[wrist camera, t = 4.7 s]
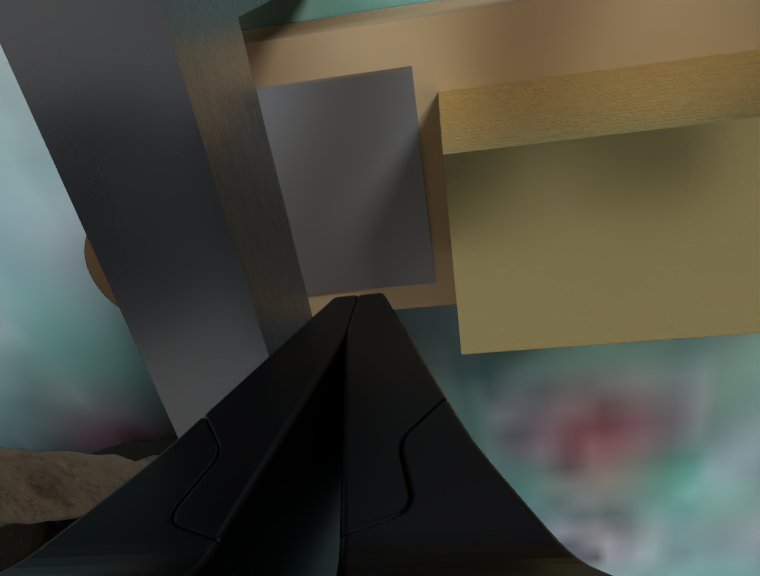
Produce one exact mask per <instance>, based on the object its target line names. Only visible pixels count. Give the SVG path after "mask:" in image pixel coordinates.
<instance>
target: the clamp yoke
mask: <svg viewBox="0 0 760 576" xmlns="http://www.w3.org/2000/svg"><path fill="white" fill-rule="evenodd" d="M269 1H271V0H0V44H1V46H2V48H3V51H4V53H5V55H6V57H7V59H8V62H9V64H10V66H11V68H12V71H13V73H14V75H15V77H16V79H17V82H18V84H19V86H20V88H21V91H22V93H23V95H24V97H25V99H26V102H27V104H28V106H29V108H30V110H31V113H32V115H33V117H34V119H35V122H36V124H37V126H38V128H39V130H40V133H41V135H42V137H43V139H44V142H45V144H46V146H47V148H48V150H49V153H50V155H51V157H52V159H53V161H54V164H55V166H56V168H57V170H58V173H59V175H60V177H61V179H62V181H63V184H64V186H65V188H66V190H67V192H68V195H69V197H70V199H71V201H72V204H73V206H74V208H75V210H76V212H77V215H78V217H79V219H80V221H81V224H82V226H83V228H84V230H85V232H86V235H87V237H88V239H89V241H90V243H91V246H92V248H93V250H94V252H95V255H96V257H97V259H98V261H99V263H100V266H101V268H102V270H103V272H104V274H105V277H106V279H107V281H108V283H109V286H110V288H111V290H112V292H113V294H114V297H115V299H116V301H117V303H118V306H119V308H120V310H121V312H122V314H123V317H124V319H125V321H126V323H127V325H128V328H129V330H130V332H131V334H132V337H133V339H134V341H135V343H136V345H137V348H138V350H139V352H140V354H141V356H142V359H143V361H144V363H145V365H146V368H147V370H148V372H149V374H150V376H151V379H152V381H153V383H154V385H155V388H156V390H157V392H158V394H159V396H160V399H161V401H162V403H163V405H164V407H165V410H166V412H167V414H168V416H169V419H170V421H171V423H172V425H173V427H174V430H175V432H176V434H177V436H178V438H180V437H181V436H182V435H183V434H184V433H185V432H186V431H188V430H189V429H190V428H191V427H192V426H193V425H194V424H195V423H196V422H197V421H199V420H200V419H201V418H205V415H206V413H208V412H209V411H210V410H211V409H212V408H213V407H214V406H215V405H216V404H218V403H219V402H220V401H221V400H222V399H223V398H224V397H225V396H226V395H227V394H229V393H230V392H231V391H232V390H233V389H234V388H235V387H236V386H237V385H238V384H240V383H241V382H242V381H243V380H244V379H245V378H246V377H247V376H248V375H249V374H251V373H252V372H253V371H254V370H255V369H256V368H257V367H258V366H259V365H261V364H262V363H263V362H264V361H265V360H266V359H267V358H268V357H269V356H270V355H272V354H273V353H274V352H275V351H276V350H277V349H278V348H279V347H280V346H281V345H283V344H284V343H285V342H286V341H287V340H288V339H289V338H290V337H291V336H292V335H294V334H295V333H296V332H297V331H298V330H299V329H300V328H301V327H302V326H303V325H305V324H306V323H307V322H308V321H309V320H310V319H311V318H312V312H311V308H310V304H309V300H308V296H307V292H306V288H305V284H304V280H303V276H302V272H301V268H300V264H299V260H298V256H297V252H296V248H295V244H294V240H293V236H292V232H291V228H290V224H289V220H288V216H287V212H286V208H285V204H284V200H283V196H282V192H281V188H280V184H279V180H278V176H277V172H276V168H275V164H274V160H273V156H272V152H271V148H270V144H269V140H268V136H267V132H266V128H265V124H264V120H263V116H262V112H261V107H260V103H259V99H258V95H257V91H256V87H255V83H254V79H253V75H252V71H251V67H250V63H249V59H248V55H247V51H246V47H245V43H244V39H243V35H242V31H241V27H240V23H239V19H238V17H240V16H242V15H244V14H246V13H248V12H250V11H252V10H254V9H256V8H257V7H259V6H261V5H263V4H265V3H267V2H269Z"/></svg>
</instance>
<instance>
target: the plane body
mask: <svg viewBox="0 0 760 576" xmlns="http://www.w3.org/2000/svg"><path fill="white" fill-rule="evenodd" d="M241 31H242V35H243V39H244V43H245V47H246V51H247V55H248V59H249V63H250V67H251V71H252V75H253V79H254V83H255V87H256V91H257V95H258V99H259V103H260V107H261V112H262V116H263V120H264V124H265V128H266V132H267V136H268V140H269V144H270V148H271V152H272V156H273V160H274V164H275V168H276V172H277V176H278V180H279V184H280V188H281V192H282V196H283V200H284V204H285V208H286V212H287V216H288V220H289V224H290V228H291V232H292V236H293V240H294V244H295V248H296V252H297V256H298V260H299V264H300V268H301V272H302V276H303V280H304V284H305V288H306V292H307V296H308V300H309V304H310V308H311V312H312V317H313V316H314V315H316V314H317V313H318V312H319V311H320V310H321V309H322V308H323V307H324V306H326V305H327V304H328V303H329V302H330V301H331V300H332V299H334V298H335V297H341V296H352V295H357V296H360V295H362V294H373V293H383V294H384V295H385V296H386V298H387V300H388V301H389V303H390V305H391V306H392V308H393V310H396V309H408V308H420V307H432V306H443V305H455V304H457V301H456V290H455V279H454V268H453V258H452V247H451V236H450V225H449V215H448V204H447V193H446V182H445V172H444V161H443V149H442V136H441V122H440V109H439V96H438V92H440V91H448V90H455V89H463V88H470V87H478V86H485V85H493V84H501V83H508V82H516V81H523V80H531V79H538V78H546V77H553V76H561V75H568V74H576V73H584V72H591V71H599V70H606V69H614V68H621V67H629V66H636V65H644V64H652V63H659V62H667V61H674V60H682V59H689V58H697V57H704V56H712V55H719V54H727V53H735V52H742V51H750V50H757V49H760V0H437V1H431V2H424V3H418V4H411V5H405V6H398V7H392V8H385V9H379V10H372V11H365V12H359V13H352V14H346V15H339V16H333V17H326V18H320V19H313V20H307V21H300V22H293V23H287V24H280V25H274V26H267V27H261V28H254V29H248V30H241ZM84 252H85V260H86V264H87V268H88V270H89V273H90V275H91V277H92V279H93V281H94V282H95V284H96V285H97V287H98V288H99V289H100V290H101V292H102V293H103V294H104V295H105V296H106V297H107V298H108V299H109V300H110V301H111V302H112V303H114V304H115V305H116V306H118V303H117V301H116V299H115V297H114V294H113V292H112V290H111V288H110V286H109V283H108V281H107V279H106V277H105V274H104V272H103V270H102V268H101V266H100V263H99V261H98V259H97V257H96V255H95V252H94V250H93V248H92V246H91V243H90V241H89V239H88V237H87V236H86V240H85V248H84ZM118 307H119V306H118Z"/></svg>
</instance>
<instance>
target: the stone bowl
mask: <svg viewBox="0 0 760 576" xmlns="http://www.w3.org/2000/svg"><path fill="white" fill-rule="evenodd" d="M177 439H178V436H174V437H170V438H165V439H160V440H149V441H136V442H127V443H122V444H119V445H116V446H112V447H109V448H106V449H103V450H100V451H98V452H95V453H92V454H86V453H79V452H72V451H28V450H23V449H11V448H5V447H0V572H2V571H4V570H6V569H8V568H10V567H12V566H14V565H15V564H17V563H19V562H20V561H22V560H24V559H26V558H27V557H28V556H30V555H31V554H33V553H34V552H35V551H37V550H38V549H40V548H41V547H42V546H44V545H45V544H46V543H47V542H49V541H50V540H51V539H53V538H54V537H55V536H57V535H58V534H59V533H60V532H62V531H63V530H64V529H66V528H67V527H68V526H70V525H71V524H72V523H73V522H75V521H76V520H77V519H79V518H80V517H81V516H83V515H84V514H85V513H86V512H88V511H89V510H90V509H92V508H93V507H94V506H96V505H97V504H98V503H99V502H101V501H102V500H103V499H105V498H106V497H107V496H108V495H110V494H111V493H112V492H114V491H115V490H116V489H118V488H119V487H120V486H121V485H123V484H124V483H125V482H127V481H128V480H129V479H130V478H132V477H133V476H134V475H135V474H137V473H138V472H139V471H140V470H142V469H143V468H144V467H145V466H147V465H148V464H149V463H150V462H152V461H153V460H154V459H155V458H157V457H158V456H159V455H160V454H161V453H162V452H163V451H165V450H166V449H167V448H168V447H169V446H170V445H172V444H173V443H174V442H175V441H176V440H177Z"/></svg>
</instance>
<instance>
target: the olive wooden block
mask: <svg viewBox="0 0 760 576" xmlns="http://www.w3.org/2000/svg"><path fill="white" fill-rule="evenodd" d="M438 96H439V109H440V122H441V136H442V149H443V161H444V172H445V182H446V193H447V204H448V215H449V225H450V236H451V247H452V258H453V268H454V279H455V290H456V301H457V311H458V322H459V333H460V344H461V354H474V353H488V352H501V351H515V350H529V349H542V348H556V347H569V346H583V345H597V344H610V343H624V342H638V341H651V340H665V339H678V338H692V337H706V336H719V335H733V334H747V333H760V49H757V50H750V51H742V52H735V53H727V54H719V55H712V56H704V57H697V58H689V59H682V60H674V61H667V62H659V63H652V64H644V65H636V66H629V67H621V68H614V69H606V70H599V71H591V72H584V73H576V74H568V75H561V76H553V77H546V78H538V79H531V80H523V81H516V82H508V83H501V84H493V85H485V86H478V87H470V88H463V89H455V90H448V91H440V92H438Z"/></svg>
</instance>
